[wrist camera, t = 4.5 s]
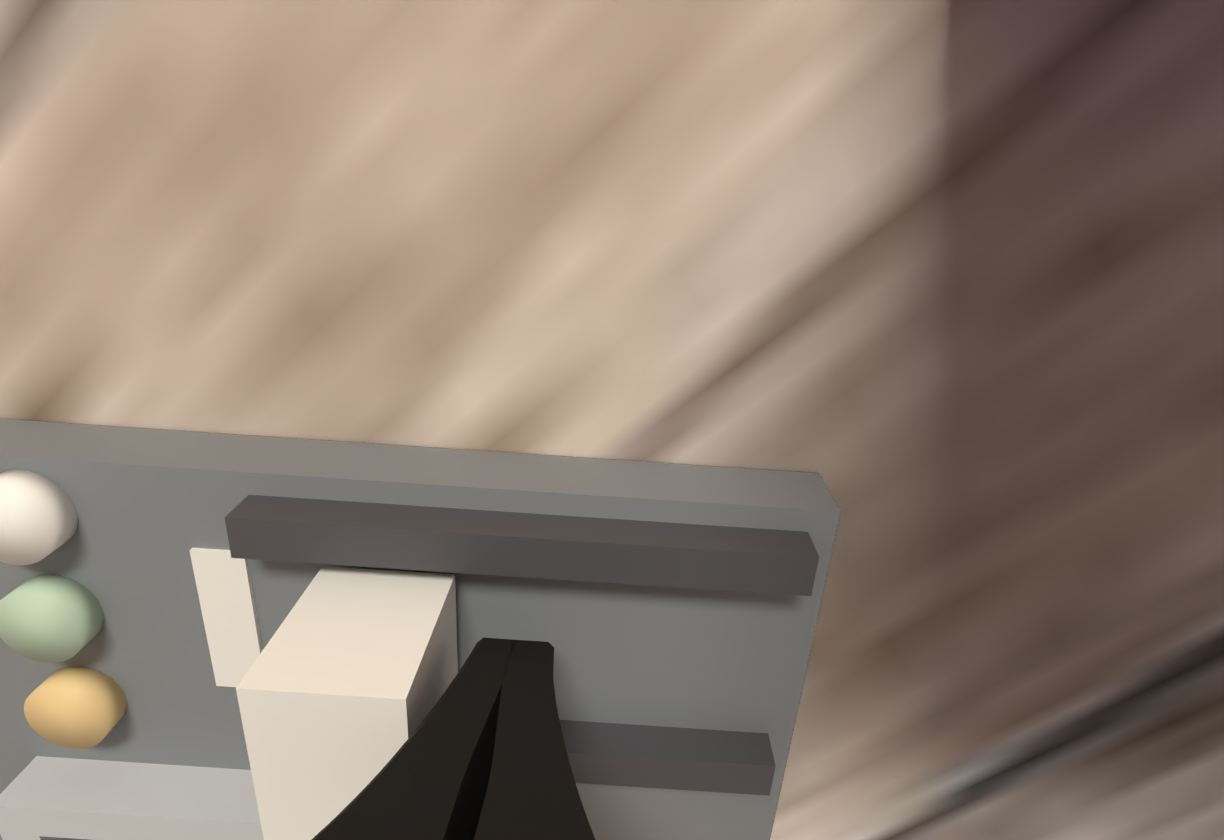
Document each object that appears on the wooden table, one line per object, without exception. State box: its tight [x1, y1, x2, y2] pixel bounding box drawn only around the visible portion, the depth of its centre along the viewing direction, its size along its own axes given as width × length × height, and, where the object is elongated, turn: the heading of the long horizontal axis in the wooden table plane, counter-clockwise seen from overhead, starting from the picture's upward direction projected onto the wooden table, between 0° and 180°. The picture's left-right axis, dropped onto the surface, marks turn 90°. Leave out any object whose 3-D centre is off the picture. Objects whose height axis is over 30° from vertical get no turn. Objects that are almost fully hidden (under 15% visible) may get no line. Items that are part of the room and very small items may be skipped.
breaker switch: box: [236, 566, 458, 840], centre depth 12 cm, size 3×2×3 cm
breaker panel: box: [0, 419, 841, 840], centre depth 15 cm, size 16×18×3 cm
